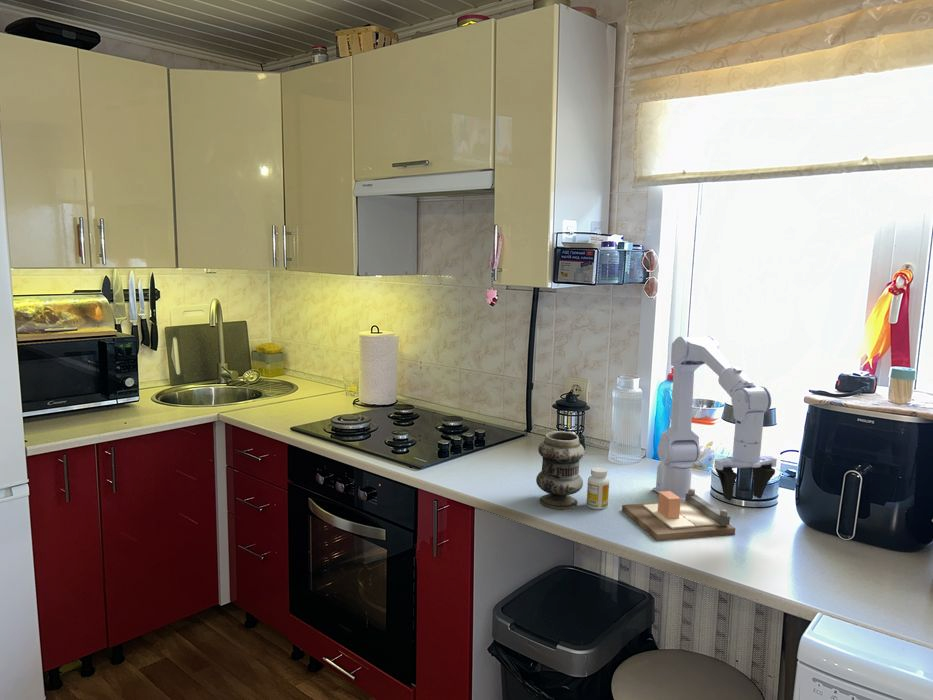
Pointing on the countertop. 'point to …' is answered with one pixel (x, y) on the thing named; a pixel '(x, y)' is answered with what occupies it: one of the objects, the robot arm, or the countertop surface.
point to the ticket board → (692, 509)
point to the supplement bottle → (598, 489)
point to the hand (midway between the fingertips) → (742, 497)
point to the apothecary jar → (560, 469)
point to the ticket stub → (669, 510)
